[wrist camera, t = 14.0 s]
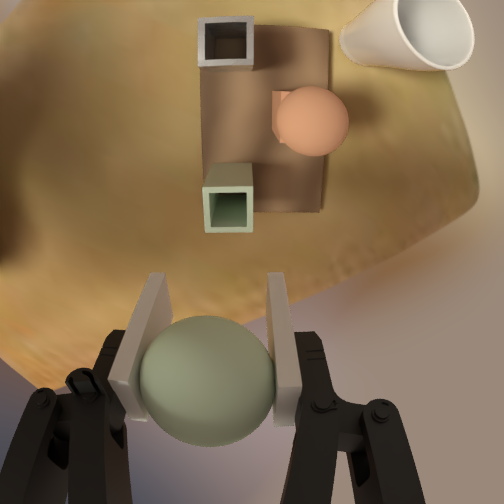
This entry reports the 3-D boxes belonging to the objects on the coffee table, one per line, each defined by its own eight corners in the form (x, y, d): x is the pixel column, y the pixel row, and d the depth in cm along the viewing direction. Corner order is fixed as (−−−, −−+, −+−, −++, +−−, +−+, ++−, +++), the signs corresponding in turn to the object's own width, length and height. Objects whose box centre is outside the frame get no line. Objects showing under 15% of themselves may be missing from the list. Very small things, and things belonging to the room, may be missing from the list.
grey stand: (210, 72, 26) (197, 66, 19) (210, 35, 24) (197, 18, 17) (251, 71, 26) (253, 65, 19) (251, 33, 24) (253, 15, 17)
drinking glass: (329, 67, 27) (391, 56, 14) (331, 10, 24) (391, -36, 11) (388, 78, 27) (475, 83, 14) (390, 23, 24) (474, -1, 11)
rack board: (206, 208, 35) (205, 212, 34) (201, 29, 25) (199, 26, 24) (317, 208, 35) (319, 212, 34) (325, 31, 25) (328, 29, 24)
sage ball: (165, 369, 14) (148, 460, 10) (143, 287, 12) (103, 391, 7) (269, 371, 14) (276, 465, 10) (273, 287, 12) (287, 400, 7)
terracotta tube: (271, 129, 29) (280, 142, 22) (272, 90, 27) (281, 91, 20) (311, 130, 29) (331, 145, 22) (312, 92, 27) (334, 94, 21)
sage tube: (213, 199, 33) (205, 232, 26) (212, 163, 31) (202, 187, 24) (251, 199, 33) (253, 232, 26) (251, 162, 31) (253, 186, 24)
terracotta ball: (272, 148, 23) (279, 162, 19) (273, 84, 21) (281, 82, 16) (334, 150, 23) (356, 165, 19) (338, 89, 21) (361, 90, 16)
